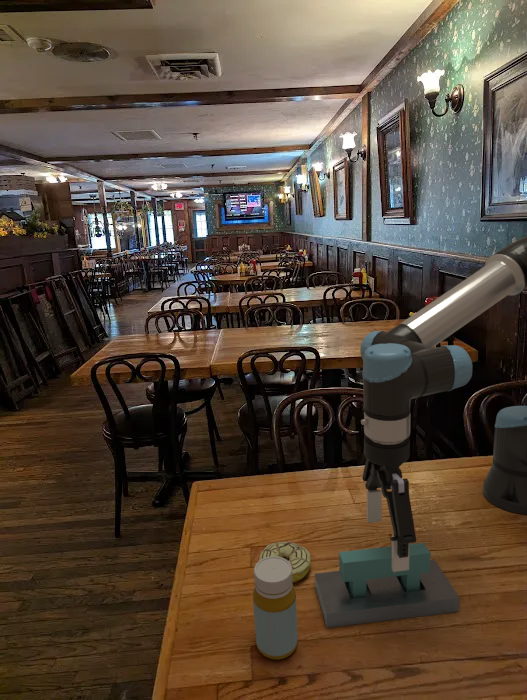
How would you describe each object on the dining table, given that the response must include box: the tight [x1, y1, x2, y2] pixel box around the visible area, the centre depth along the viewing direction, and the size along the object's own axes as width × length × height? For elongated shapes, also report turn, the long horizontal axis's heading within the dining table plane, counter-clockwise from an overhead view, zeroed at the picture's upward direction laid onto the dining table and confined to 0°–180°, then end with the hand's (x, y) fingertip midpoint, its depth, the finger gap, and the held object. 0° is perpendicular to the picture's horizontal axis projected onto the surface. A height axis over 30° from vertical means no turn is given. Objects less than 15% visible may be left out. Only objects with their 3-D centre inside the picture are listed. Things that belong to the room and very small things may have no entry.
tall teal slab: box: [338, 542, 432, 599], centre depth 89 cm, size 16×3×10 cm, turn 96°
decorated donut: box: [258, 541, 312, 585], centre depth 99 cm, size 10×11×4 cm
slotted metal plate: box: [314, 559, 461, 629], centre depth 90 cm, size 24×10×3 cm, turn 96°
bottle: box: [252, 556, 299, 661], centre depth 80 cm, size 7×7×15 cm
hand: (386, 543), depth 87 cm, fingers open, 13 cm apart
